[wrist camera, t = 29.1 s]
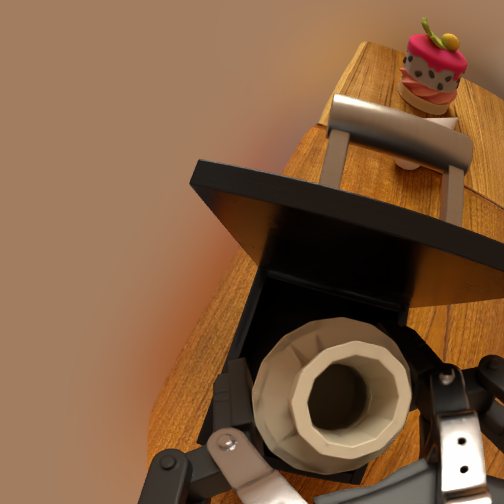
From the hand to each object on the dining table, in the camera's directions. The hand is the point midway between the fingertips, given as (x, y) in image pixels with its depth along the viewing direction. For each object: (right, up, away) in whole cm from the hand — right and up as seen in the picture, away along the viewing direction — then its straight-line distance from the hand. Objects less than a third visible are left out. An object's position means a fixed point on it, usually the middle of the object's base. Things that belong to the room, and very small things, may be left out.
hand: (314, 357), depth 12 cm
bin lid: (+2, +3, +2) cm, 4 cm away
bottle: (+1, -3, +4) cm, 5 cm away
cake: (+27, +32, +30) cm, 52 cm away
